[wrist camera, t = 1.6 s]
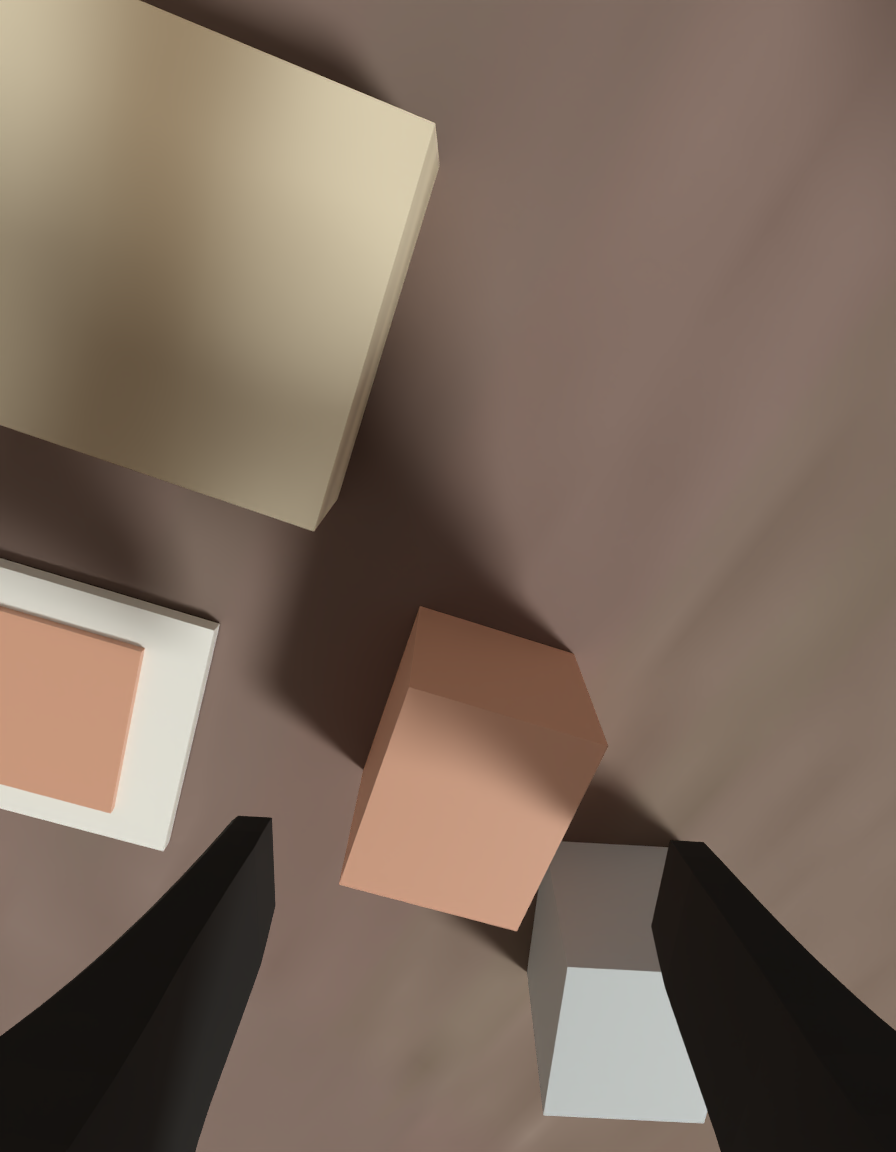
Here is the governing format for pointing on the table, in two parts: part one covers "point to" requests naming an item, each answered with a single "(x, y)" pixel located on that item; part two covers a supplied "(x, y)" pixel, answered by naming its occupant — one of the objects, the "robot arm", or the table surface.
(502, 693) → the terracotta block
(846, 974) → the table surface
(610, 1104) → the grey block
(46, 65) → the maple block
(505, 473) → the table surface
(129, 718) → the tile
